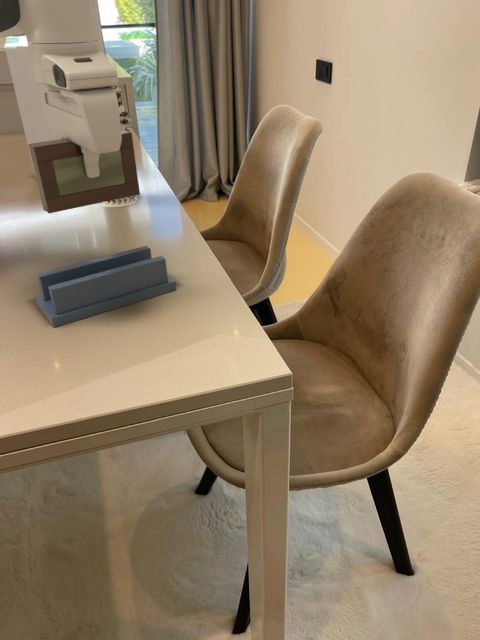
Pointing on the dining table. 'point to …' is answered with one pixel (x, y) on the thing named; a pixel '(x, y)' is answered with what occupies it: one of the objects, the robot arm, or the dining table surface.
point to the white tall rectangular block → (28, 97)
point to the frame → (82, 174)
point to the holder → (101, 285)
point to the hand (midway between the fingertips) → (87, 173)
